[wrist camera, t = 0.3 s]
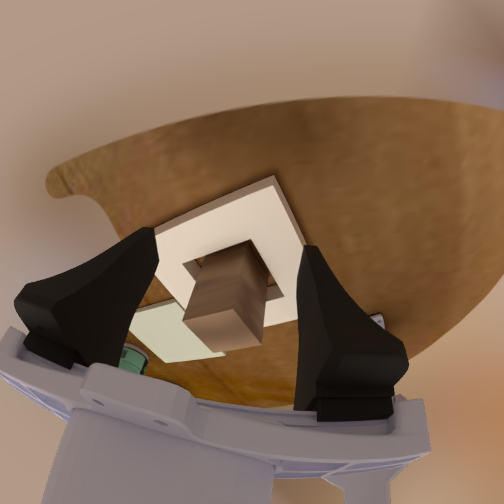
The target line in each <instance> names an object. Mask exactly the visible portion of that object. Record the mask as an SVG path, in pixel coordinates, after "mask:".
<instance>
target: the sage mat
mask: <svg viewBox="0 0 504 504" xmlns="http://www.w3.org/2000/svg"><path fill="white" fill-rule="evenodd" d="M185 311H186V310H185V309H184V308H183V307H182V305H181V304H180V303H179V302H178V301H177V300H176V299H175V298H174V299H170V300H166V301H163V302H159V303H156V304H152V305H149V306H145V307H141V308H138V309H137V310H136V312H135V315H134V317H133V319H132V322H131V325H130V328H129V330H130V331H131V332H132V333H133V334H134V335H135V336H136V337H137V338H138V339H139V340H140V341H141V342H143V343H144V344H145V345H146V346H147V347H148V348H149V349H150V350H151V351H153V352H154V353H155V354H156V355H157V356H158V357H159V358H161V359H162V360H163V361H164V362H165V363H169V362H179V361H188V360H196V359H204V358H211V357H218V356H225V355H226V352H227V351H223V352H217V353H213V352H212V351H211V350H210V349H209V348H208V347H207V346H206V345H205V344H204V343H203V342H202V341H201V340H200V339H199V338H198V337H197V336H196V335H195V334H194V333H193V332H192V331H191V330H190V329H189V328H188V327H187V326H186V325H185V324H184V323H183V322H182V319H183V316H184V313H185Z"/></svg>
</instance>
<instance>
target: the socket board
mask: <svg viewBox="0 0 504 504" xmlns="http://www.w3.org/2000/svg"><path fill="white" fill-rule="evenodd" d="M154 230H155V237H156V243H157V249H158V255H159V260H160V261H159V264H158V267H157V270H156V272H155V275H156V276H157V277H158V279H159V280H160V281H161V282H162V283H163V285H164V286H165V287H166V288H167V289H168V291H169V292H170V293H171V294H172V295H173V296H174V297H175V299H176V300H177V301H178V302H179V303H180V304H181V305H182V307H183V308H184V309H185V310H186V308H187V305H188V302H189V299H190V297H191V294H192V291H193V288H194V286H195V283H196V280H197V277H198V275H199V272H200V269H201V268H200V266H199V265H198V264H197V262H196V261H195V259H196V258H199V257H202V256H204V255H207V254H210V253H213V252H216V251H218V250H221V249H224V248H227V247H229V246H232V245H235V244H238V243H241V242H243V241H246V240H249V239H251V240H252V241H253V243H254V245H255V247H256V248H257V250H258V252H259V253H260V255H261V257H262V259H263V260H264V262H265V264H266V265H267V267H268V269H269V271H270V272H271V274H272V276H273V277H274V279H275V281H276V283H277V285H274V286H270V287H267V296H266V307H265V316H264V326H263V327H266V326H270V325H275V324H279V323H283V322H287V321H292V320H296V319H298V317H297V303H296V286H297V275H298V270H299V266H300V261H301V256H302V251H303V247H304V245H307V244H306V241H305V239H304V237H303V235H302V233H301V230H300V228H299V226H298V224H297V222H296V220H295V218H294V215H293V213H292V211H291V209H290V207H289V205H288V203H287V201H286V199H285V196H284V194H283V192H282V190H281V188H280V186H279V184H278V182H277V180H276V178H275V176H274V175H273V176H270V177H268V178H265V179H263V180H260V181H258V182H255V183H253V184H251V185H248V186H246V187H243V188H241V189H239V190H236V191H234V192H232V193H229V194H227V195H225V196H222V197H220V198H218V199H216V200H213V201H211V202H209V203H207V204H205V205H202V206H200V207H198V208H196V209H194V210H191V211H189V212H187V213H185V214H183V215H181V216H179V217H176V218H174V219H172V220H170V221H168V222H166V223H164V224H162V225H160V226H158V227H156V228H154Z"/></svg>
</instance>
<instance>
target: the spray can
mask: <svg viewBox="0 0 504 504" xmlns="http://www.w3.org/2000/svg"><path fill="white" fill-rule="evenodd" d="M148 361H149V356H148V354H147V353H146V352H145V351H144V350H143V349H141V348H139V347H138V346H136V345H133V344H130V343H124V347H123V350H122V354H121V358H120V363H119V367H118V368H119V369H123V370H126V371H129V372H133V373H136V374H140V375H144V372H145V369H146V367H147V364H148Z"/></svg>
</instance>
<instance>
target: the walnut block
mask: <svg viewBox="0 0 504 504" xmlns="http://www.w3.org/2000/svg"><path fill="white" fill-rule="evenodd" d="M267 286H268V275H267V273H266V272H265V270H264V268H263V267H262V265H261V263H260V262H259V260H258V258H257V256H256V255H255V253H254V251H253V250H252V248H251V246H250V245H249V243H248V241H246V242H243V243H240V244H238V245H235V246H232V247H229V248H226V249H224V250H221V251H218V252H215V253H213V254H210V255H207V256H205V259H204V261H203V264H202V267H201V269H200V272H199V275H198V277H197V280H196V283H195V286H194V288H193V291H192V294H191V297H190V299H189V302H188V305H187V308H186V311H185V313H184V316H183V319H182V322H183V323H184V324H185V325H186V326H187V327H188V328H189V329H190V330H191V331H192V332H193V333H194V334H195V335H196V336H197V337H198V338H199V339H200V340H201V341H202V342H203V343H204V344H205V345H206V346H207V347H208V348H209V349H210V350H211V351H212V352H213V353H217V352H223V351H229V350H235V349H241V348H247V347H252V346H258V345H262V336H263V326H264V316H265V307H266V296H267Z"/></svg>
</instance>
